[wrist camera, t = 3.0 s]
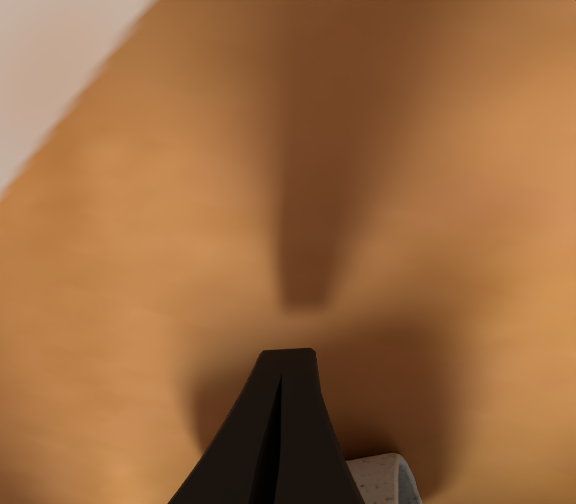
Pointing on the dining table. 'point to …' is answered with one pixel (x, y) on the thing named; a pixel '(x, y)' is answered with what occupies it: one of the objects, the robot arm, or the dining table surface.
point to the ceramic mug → (385, 479)
